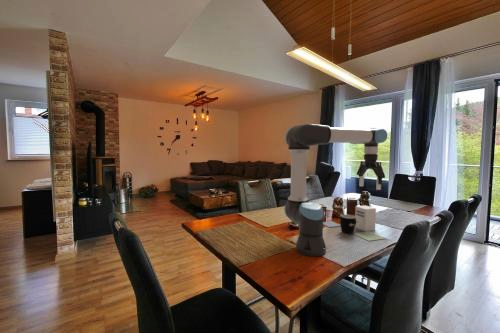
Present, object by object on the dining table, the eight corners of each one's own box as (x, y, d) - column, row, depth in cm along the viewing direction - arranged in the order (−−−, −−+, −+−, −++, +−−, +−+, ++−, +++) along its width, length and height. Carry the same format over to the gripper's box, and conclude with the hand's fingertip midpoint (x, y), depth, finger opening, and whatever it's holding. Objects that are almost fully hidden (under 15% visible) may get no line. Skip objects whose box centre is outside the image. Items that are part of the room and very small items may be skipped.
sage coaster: (368, 241, 133) (368, 240, 133) (353, 234, 144) (353, 233, 144) (385, 238, 136) (385, 238, 136) (369, 232, 148) (369, 231, 148)
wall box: (364, 231, 150) (365, 209, 149) (354, 226, 158) (355, 206, 157) (375, 229, 152) (376, 208, 151) (365, 225, 161) (365, 205, 160)
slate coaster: (328, 227, 157) (328, 226, 157) (320, 223, 166) (320, 222, 166) (341, 226, 160) (341, 225, 159) (332, 221, 169) (332, 221, 169)
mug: (348, 235, 141) (349, 219, 141) (336, 231, 149) (337, 215, 149) (361, 232, 147) (362, 216, 146) (349, 228, 155) (349, 213, 154)
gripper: (393, 153, 134) (391, 190, 135) (360, 153, 158) (359, 184, 159) (382, 153, 132) (381, 191, 133) (351, 153, 156) (350, 185, 157)
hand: (369, 187), depth 146 cm, fingers open, 13 cm apart
